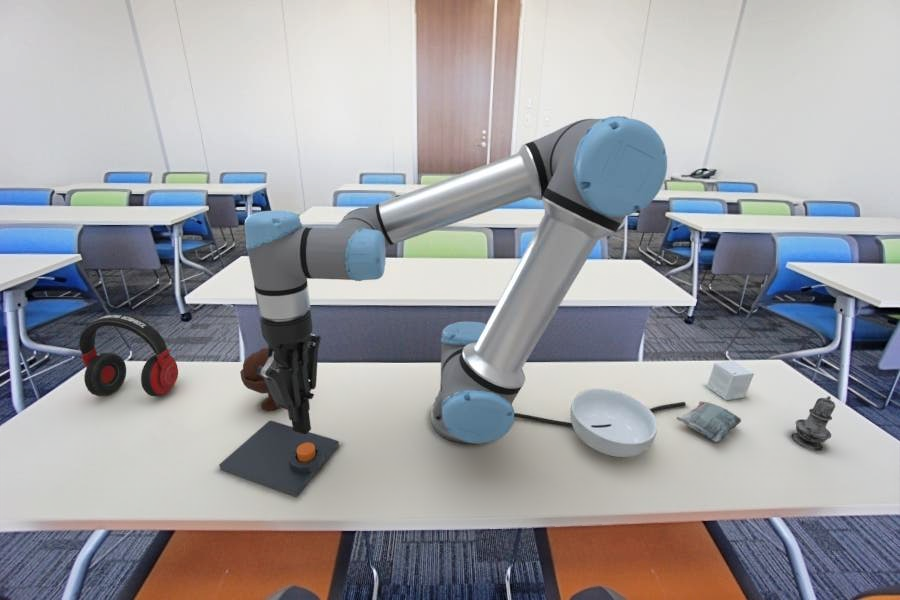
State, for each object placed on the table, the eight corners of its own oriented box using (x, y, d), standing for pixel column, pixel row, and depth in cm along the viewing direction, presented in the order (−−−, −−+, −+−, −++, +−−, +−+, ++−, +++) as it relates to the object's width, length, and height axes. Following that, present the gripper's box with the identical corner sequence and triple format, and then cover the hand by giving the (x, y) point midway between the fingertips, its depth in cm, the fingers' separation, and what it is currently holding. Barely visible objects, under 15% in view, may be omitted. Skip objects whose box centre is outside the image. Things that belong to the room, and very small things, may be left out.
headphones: (83, 405, 89) (50, 326, 81) (116, 379, 98) (89, 306, 90) (164, 405, 90) (139, 327, 82) (189, 380, 99) (169, 307, 91)
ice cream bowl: (306, 391, 96) (298, 336, 90) (284, 422, 86) (274, 363, 80) (264, 387, 97) (254, 333, 91) (237, 417, 87) (224, 359, 81)
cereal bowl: (557, 412, 92) (562, 386, 89) (628, 413, 92) (635, 388, 90) (580, 470, 76) (586, 441, 74) (665, 471, 77) (675, 443, 74)
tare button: (319, 452, 75) (318, 445, 74) (308, 464, 72) (307, 457, 72) (305, 447, 76) (304, 440, 75) (293, 459, 73) (292, 452, 73)
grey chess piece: (824, 456, 82) (849, 409, 77) (788, 441, 85) (810, 396, 81) (824, 441, 86) (849, 396, 81) (790, 428, 89) (811, 384, 85)
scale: (341, 447, 80) (340, 435, 79) (299, 498, 69) (297, 486, 68) (270, 425, 85) (268, 414, 84) (220, 470, 74) (217, 458, 73)
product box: (745, 398, 99) (755, 373, 96) (725, 401, 98) (735, 376, 95) (724, 383, 105) (733, 360, 102) (705, 386, 103) (713, 362, 100)
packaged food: (673, 426, 89) (679, 408, 87) (698, 407, 95) (705, 390, 93) (715, 451, 82) (723, 432, 80) (739, 429, 89) (747, 411, 87)
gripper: (293, 293, 69) (307, 403, 78) (233, 325, 58) (258, 449, 67) (330, 300, 67) (340, 412, 76) (275, 334, 56) (295, 461, 65)
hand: (302, 429), depth 72 cm, fingers closed
